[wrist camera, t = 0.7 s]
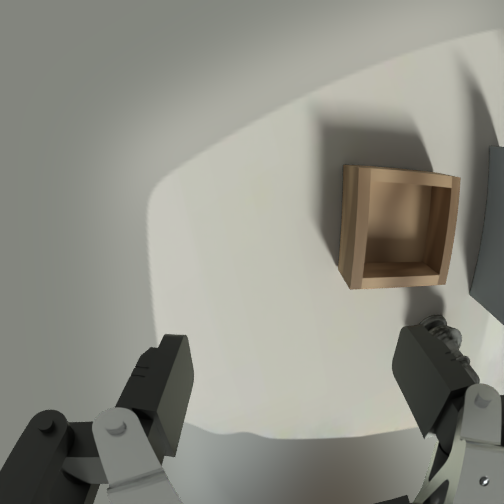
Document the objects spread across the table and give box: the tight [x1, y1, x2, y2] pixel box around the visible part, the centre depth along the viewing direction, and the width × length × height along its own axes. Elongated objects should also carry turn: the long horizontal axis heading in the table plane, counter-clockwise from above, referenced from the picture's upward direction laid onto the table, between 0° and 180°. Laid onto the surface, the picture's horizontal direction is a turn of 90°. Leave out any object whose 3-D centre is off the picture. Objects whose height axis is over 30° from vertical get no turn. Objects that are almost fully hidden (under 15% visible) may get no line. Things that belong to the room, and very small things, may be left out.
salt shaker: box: [419, 315, 480, 384], centre depth 25 cm, size 6×6×12 cm
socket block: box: [338, 165, 460, 289], centre depth 24 cm, size 10×10×4 cm
